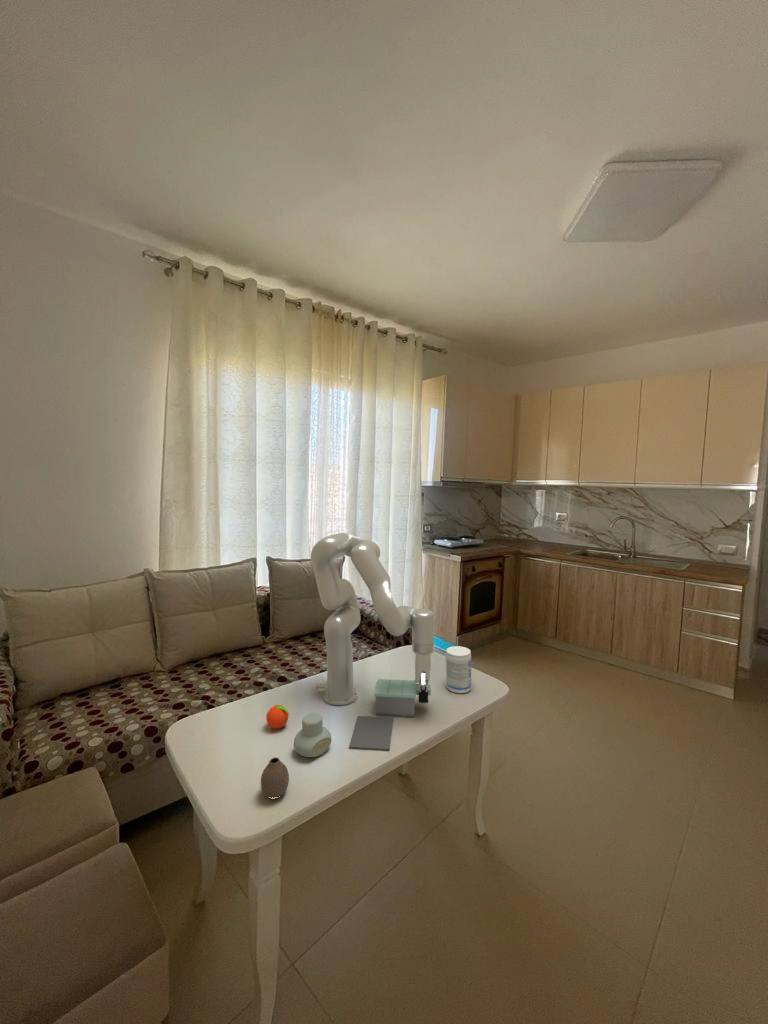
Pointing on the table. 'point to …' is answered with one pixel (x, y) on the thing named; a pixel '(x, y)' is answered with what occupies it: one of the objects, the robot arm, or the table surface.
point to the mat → (372, 733)
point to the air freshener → (312, 736)
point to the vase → (274, 778)
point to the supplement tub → (458, 669)
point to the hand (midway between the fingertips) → (423, 695)
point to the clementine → (277, 716)
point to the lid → (398, 688)
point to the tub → (395, 706)
